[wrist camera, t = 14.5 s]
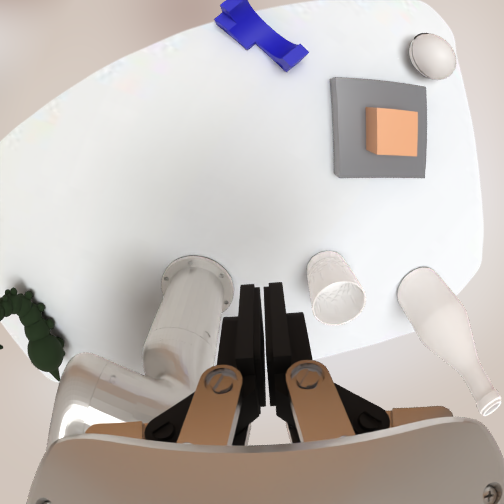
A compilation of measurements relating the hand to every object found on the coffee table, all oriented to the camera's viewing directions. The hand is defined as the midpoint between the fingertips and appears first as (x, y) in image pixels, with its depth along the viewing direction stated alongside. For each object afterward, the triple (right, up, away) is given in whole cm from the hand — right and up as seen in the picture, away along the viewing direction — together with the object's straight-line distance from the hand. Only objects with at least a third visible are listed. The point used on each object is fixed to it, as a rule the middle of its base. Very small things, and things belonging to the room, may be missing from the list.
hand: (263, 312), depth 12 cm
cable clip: (0, +31, +20) cm, 37 cm away
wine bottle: (+31, -4, +38) cm, 50 cm away
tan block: (+18, +21, +25) cm, 37 cm away
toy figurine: (-50, -13, +44) cm, 68 cm away
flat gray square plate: (+18, +21, +25) cm, 37 cm away
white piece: (+24, +32, +20) cm, 44 cm away
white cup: (+12, 0, +36) cm, 38 cm away
